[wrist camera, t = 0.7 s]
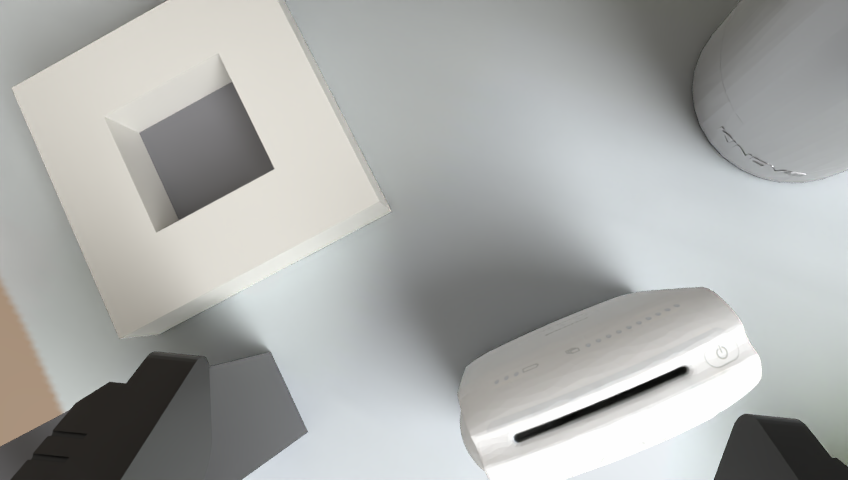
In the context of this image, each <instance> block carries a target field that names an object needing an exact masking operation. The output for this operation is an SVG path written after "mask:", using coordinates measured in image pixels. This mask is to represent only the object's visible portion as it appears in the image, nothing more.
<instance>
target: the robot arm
mask: <svg viewBox="0 0 848 480" xmlns="http://www.w3.org/2000/svg"><path fill="white" fill-rule="evenodd" d="M692 90H693V101H694V108H695V111H696V115H697V118H698V121H699V124H700V126H701V128H702V130H703V131H704V133H705V135H706V136H707V138H708V140H709V142H710V143H711V144H712V145H713V146H714V147H715V148H716V149H717V151H718V152H719V153H720V154H721V155H722V156H723V157H724V158H725V159H727V160H728V161H730V162H731V163H732V164H734V165H735V166H737V167H738V168H740V169H741V170H743V171H746V172H748V173H750V174H752V175H755V176H757V177H759V178H763V179H768V180H772V181H777V182H787V183H804V182H809V181H815V180H821V179H825V178H827V177H830V176H833V175H836V174H838V173H841V172H844V171H847V170H848V0H741V1H740V2H739V3H738V5H737V6H736V7H735V8H734V9H733V11H732V12H731V13H730V14H729V15H728V17H727V18H726V19H725V20H724V21H723V23H722V24H721V25H720V26H719V28H718V29H717V30H716V31H715V32H714V34H713V35H712V36H711V38H710V39H709V41H708V42H707V44H706V45H705V47H704V48H703V50H702V52H701V54H700V57H699V60H698V62H697V65H696V68H695V72H694V79H693V87H692ZM211 447H212V422H211V398H210V374H209V364H208V361H207V359H206V357H204V356H194V355H184V354H175V353H165V352H152V353H150V354H149V355H148V356H147V357H146V359H145V360H144V361H143V363H142V364H141V365H140V367H139V368H138V369H137V370H136V372H135V373H134V374H133V376H132V377H131V378H130V379H129V381H128V382H127V383H126V384H124V383H115V382H109V383H107V384H106V385H104V386H102V387H101V388H99V389H98V390H96V391H94V392H93V393H91V394H90V395H88V396H86V397H85V398H83V399H82V400H80V401H79V402H77V403H76V404H75V405H74V406H73V407H72V408H71V409H70V411H69V412H68V413H67V414H66V415H65V416H64V418H63V419H62V420H61V421H60V422H59V423H58V425H57V426H56V427H55V428H54V429H53V432H52V435H51V436H47V437H46V439H45V440H44V441H43V442H42V443H41V444H40V446H39V447H38V448H37V449H36V450H35V451H34V453H33V457H32V459H31V460H27V461H26V462H25V463H24V464H23V465H22V467H21V468H20V469H19V470H18V471H17V472H16V474H15V475H14V476H13V477H12V478H11V479H10V480H204V477H205V475H206V471H207V468H208V464H209V460H210V455H211ZM714 480H848V467H847V466H846V465H845V464H843V463H842V462H841V461H840V460H838V459H837V458H831V456H830V455H829V454H828V453H827V451H826V450H825V449H824V448H823V446H822V445H821V444H820V442H819V441H818V440H817V439H816V437H815V436H814V435H813V434H812V432H811V431H810V430H809V429H808V427H807V426H806V425H805V424H804V423H803V422H801V421H800V420H797V419H791V418H781V417H771V416H761V415H752V414H744V415H742V416H740V417H739V418H738V419H737V421H736V422H735V424H734V426H733V429H732V432H731V434H730V437H729V440H728V443H727V445H726V448H725V451H724V453H723V456H722V459H721V462H720V464H719V467H718V470H717V472H716V475H715V478H714Z"/></svg>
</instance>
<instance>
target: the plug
mask: <svg viewBox="0 0 848 480" xmlns="http://www.w3.org/2000/svg"><path fill="white" fill-rule="evenodd" d="M209 374H210V398H211V422H212V447H211V455H210V460H209V464H208V468H207V471H206V475H205V477H204V480H242V479H243V478H245V477H246V476H247V475H249V474H250V473H252V472H253V471H254V470H256V469H257V468H259V467H260V466H261V465H263V464H264V463H266V462H267V461H268V460H270V459H271V458H273V457H274V456H275V455H277V454H278V453H279V452H281V451H282V450H284V449H285V448H286V447H288V446H289V445H291V444H292V443H293V442H295V441H296V440H298V439H299V438H300V437H302V436H303V435H305V434H306V433H307V432H308V431H307V429H306V427H305V425H304V423H303V421H302V418H301V416H300V414H299V412H298V410H297V408H296V406H295V403H294V401H293V399H292V397H291V395H290V393H289V390H288V388H287V386H286V384H285V382H284V380H283V378H282V375H281V373H280V371H279V369H278V367H277V365H276V362H275V360H274V358H273V356H272V354H271V352H268V353H264V354H260V355H256V356H251V357H247V358H243V359H239V360H235V361H231V362H226V363H222V364H218V365H214V366H210V367H209ZM69 411H70V410H69ZM69 411H67V412H65V413H63V414H62V415H60V416H58V417H56V418H54V419H52V420H50V421H48V422H46V423H44V424H43V425H41V426H39V427H37V428H35V429H33V430H31V431H29V432H28V433H25V434H23V435H22V436H20V437H18V438H16V439H14V440H12V441H10V442H8V443H6V444H4V445H2V446H1V447H0V480H10V479H11V478H12V477H13V476H14V475H15V474H16V472H17V471H18V470H19V469H20V468H21V467H22V465H23V464H24V463H25V462H26V461H27V460H31V459H32V457H33V453H34V451H35V450H36V449H37V448H38V447H39V446H40V444H41V443H42V442H43V441H44V440H45V439H46V437H47V436H51V435H52V432H53V429H54V428H55V427H56V426H57V425H58V423H59V422H60V421H61V420H62V419H63V418H64V416H65V415H66V414H67V413H68V412H69Z"/></svg>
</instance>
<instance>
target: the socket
mask: <svg viewBox="0 0 848 480" xmlns="http://www.w3.org/2000/svg"><path fill="white" fill-rule="evenodd" d="M12 91H13V93H14V95H15V98H16V100H17V102H18V105H19V107H20V109H21V112H22V114H23V116H24V118H25V121H26V123H27V125H28V128H29V130H30V132H31V135H32V137H33V139H34V142H35V144H36V146H37V149H38V151H39V153H40V156H41V158H42V160H43V163H44V165H45V167H46V170H47V172H48V174H49V177H50V179H51V181H52V183H53V186H54V188H55V190H56V193H57V195H58V197H59V200H60V202H61V204H62V207H63V209H64V211H65V214H66V216H67V218H68V221H69V223H70V225H71V228H72V230H73V232H74V235H75V237H76V239H77V242H78V244H79V246H80V249H81V251H82V253H83V255H84V258H85V260H86V262H87V265H88V267H89V269H90V272H91V274H92V276H93V279H94V281H95V283H96V286H97V288H98V290H99V293H100V295H101V297H102V300H103V302H104V304H105V307H106V309H107V311H108V314H109V316H110V318H111V320H112V323H113V325H114V327H115V330H116V332H117V334H118V337H119V339H124V338H134V337H143V336H152V335H159V334H161V333H163V332H165V331H167V330H169V329H170V328H172V327H174V326H176V325H178V324H180V323H182V322H184V321H186V320H187V319H189V318H191V317H193V316H195V315H197V314H199V313H201V312H203V311H205V310H206V309H208V308H210V307H212V306H214V305H216V304H218V303H220V302H222V301H224V300H225V299H227V298H229V297H231V296H233V295H235V294H237V293H239V292H241V291H242V290H244V289H246V288H248V287H250V286H252V285H254V284H256V283H258V282H260V281H261V280H263V279H265V278H267V277H269V276H271V275H273V274H275V273H277V272H279V271H280V270H282V269H284V268H286V267H288V266H290V265H292V264H294V263H296V262H298V261H299V260H301V259H303V258H305V257H307V256H309V255H311V254H313V253H315V252H316V251H318V250H320V249H322V248H324V247H326V246H328V245H330V244H332V243H334V242H335V241H337V240H339V239H341V238H343V237H345V236H347V235H349V234H351V233H353V232H354V231H356V230H358V229H360V228H362V227H364V226H366V225H368V224H370V223H371V222H373V221H375V220H377V219H379V218H381V217H383V216H385V215H387V214H389V213H390V212H392V211H391V209H390V207H389V205H388V203H387V201H386V199H385V197H384V195H383V193H382V191H381V189H380V187H379V185H378V183H377V181H376V179H375V178H374V176H373V174H372V172H371V170H370V168H369V166H368V164H367V162H366V160H365V158H364V156H363V154H362V152H361V150H360V148H359V146H358V144H357V142H356V140H355V138H354V136H353V134H352V132H351V130H350V128H349V126H348V124H347V123H346V121H345V119H344V117H343V115H342V113H341V111H340V109H339V107H338V105H337V103H336V101H335V99H334V97H333V95H332V93H331V91H330V89H329V87H328V85H327V83H326V81H325V79H324V77H323V75H322V73H321V71H320V69H319V68H318V66H317V64H316V62H315V60H314V58H313V56H312V54H311V52H310V50H309V48H308V46H307V44H306V42H305V40H304V38H303V36H302V34H301V32H300V30H299V28H298V26H297V24H296V22H295V20H294V18H293V16H292V14H291V13H290V11H289V9H288V7H287V5H286V3H285V1H284V0H167V1H165V2H164V3H162V4H160V5H158V6H157V7H155V8H153V9H151V10H149V11H148V12H146V13H144V14H142V15H141V16H139V17H137V18H135V19H133V20H132V21H130V22H128V23H126V24H124V25H123V26H121V27H119V28H117V29H116V30H114V31H112V32H110V33H108V34H107V35H105V36H103V37H101V38H100V39H98V40H96V41H94V42H92V43H91V44H89V45H87V46H85V47H83V48H82V49H80V50H78V51H76V52H75V53H73V54H71V55H69V56H67V57H66V58H64V59H62V60H60V61H58V62H57V63H55V64H53V65H51V66H50V67H48V68H46V69H44V70H42V71H41V72H39V73H37V74H35V75H34V76H32V77H30V78H28V79H26V80H25V81H23V82H21V83H19V84H17V85H16V86H14V87H12Z"/></svg>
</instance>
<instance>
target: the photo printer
mask: <svg viewBox="0 0 848 480" xmlns="http://www.w3.org/2000/svg"><path fill="white" fill-rule="evenodd" d="M761 377H762V367H761V360H760V357H759V355H758V353H757V352H756V350H755V349H754V347H753V346H752V344H751V343H750V341H749V339H748V337H747V335H746V333H745V330H744V327H743V324H742V321H741V320H740V319H739V317H738V316H737V315H736V313H735V312H734V311H733V309H732V308H731V307H730V306H729V305H728V304H727V303H726V302H725V301H724V300H723V299H722V298H721V297H720V296H718V295H717V294H716V293H715V292H713V291H711V290H709V289H708V288H704V287H695V288H678V289H664V290H651V291H642V292H635V293H630V294H626V295H622V296H618V297H615V298H612V299H610V300H607V301H604V302H602V303H599V304H597V305H594V306H592V307H589V308H586V309H584V310H581V311H579V312H576V313H574V314H571V315H569V316H567V317H564V318H562V319H559V320H557V321H555V322H552V323H550V324H548V325H545V326H543V327H541V328H539V329H536V330H534V331H532V332H530V333H527V334H525V335H523V336H521V337H519V338H516V339H514V340H512V341H510V342H508V343H506V344H504V345H502V346H500V347H498V348H496V349H493V350H491V351H489V352H488V353H486V354H484V355H482V356H481V357H479V358H477V359H476V360H474V361H473V362H472V363H470V364H469V365H468V366H467V367H466V368H465V370H464V373H463V376H462V380H461V383H460V386H459V390H458V400H459V404H460V408H461V415H460V429H461V435H462V439H463V442H464V445H465V447H466V449H467V451H468V453H469V454H470V456H471V457H472V459H473V460H474V461H475V463H476V464H477V465H478V466H479V467H480V468H481V469H483V470H484V471H485V473H486V475H487V477H488V478H489V480H564V479H567V478H569V477H573V476H576V475H578V474H581V473H585V472H588V471H590V470H593V469H596V468H598V467H601V466H604V465H607V464H609V463H612V462H615V461H617V460H620V459H622V458H625V457H627V456H630V455H632V454H635V453H637V452H639V451H642V450H644V449H647V448H649V447H652V446H654V445H656V444H659V443H661V442H663V441H666V440H668V439H670V438H672V437H674V436H677V435H679V434H681V433H683V432H685V431H687V430H689V429H691V428H693V427H695V426H697V425H699V424H701V423H703V422H705V421H707V420H709V419H712V418H713V417H715V416H716V415H717V414H718V413H720V412H721V411H723V410H725V409H726V408H728V407H730V406H731V405H732V404H734V403H735V402H737V401H738V400H740V399H741V398H742V397H743V396H745V395H746V394H747V393H748V392H749V391H751V390H752V389H753V388H754V387H755V386H756V385H757V384H758V383H759V381H760V379H761Z"/></svg>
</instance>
